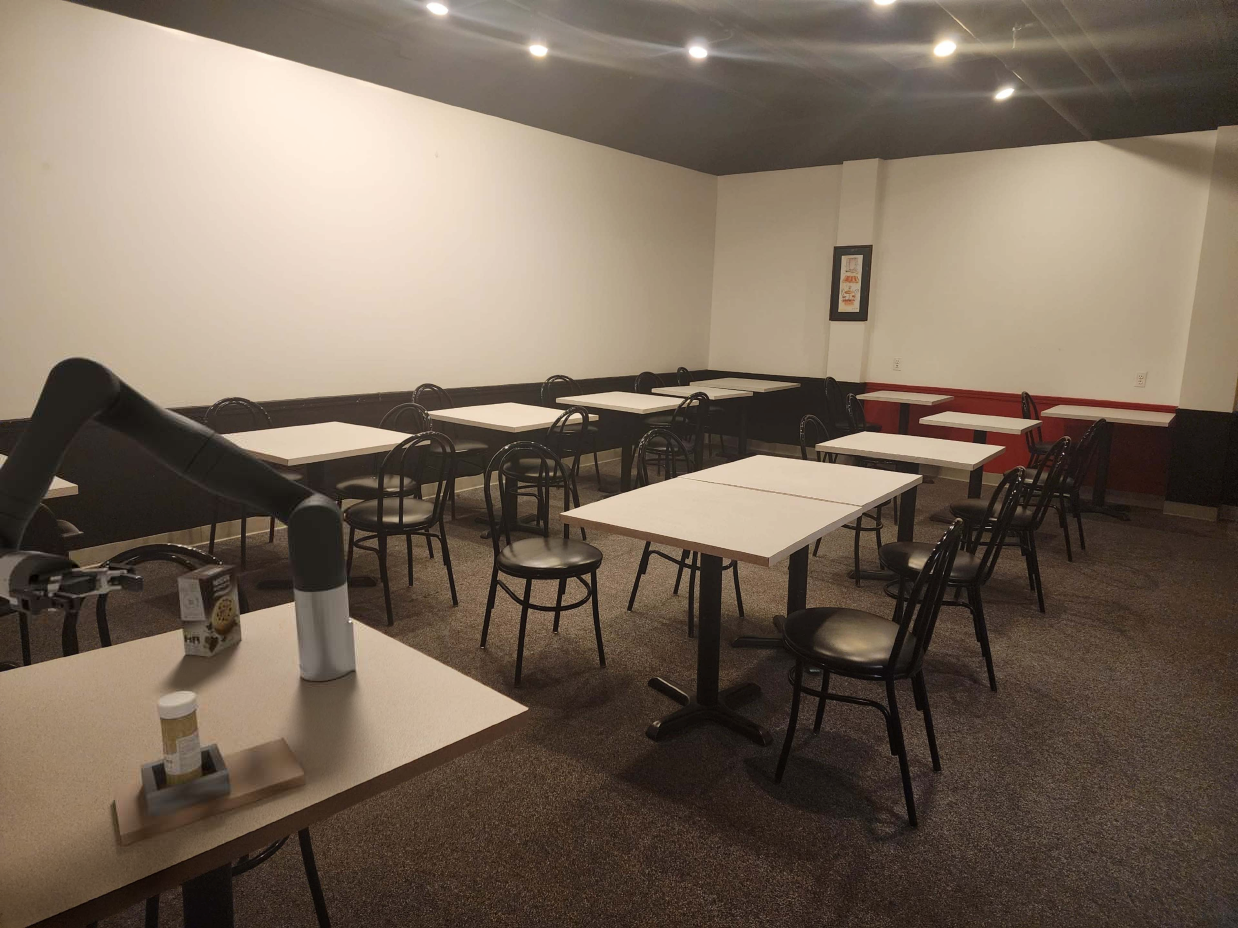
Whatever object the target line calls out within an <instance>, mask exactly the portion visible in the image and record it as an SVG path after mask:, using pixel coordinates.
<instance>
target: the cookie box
mask: <svg viewBox="0 0 1238 928" xmlns="http://www.w3.org/2000/svg"><path fill="white" fill-rule="evenodd" d="M237 582H238V581H237V571H236V565H233V564H232V565H231V564H229V565H228V564H210V563H209V564H207V565H205V566H202V567H200V568H198V569H196V570H193V571H190V572H188V573H185V574H183V575H181V576H178V577H177V583H178V595H179V606H180V617H181V626H182V638H183V646H184V647H183V648H184V654H185V655H191V656H192V655H193V656H202V657H206V658H207V657H213V656H215V655H217V654H218V653H220V652H222V651H224V650H225V649H228V648H229V647H231V646H233V645H234V644H236V643H238V642H240V641H241V640H243V637H242V628H241V627H242V625H241V615H240V605H239V594H238V593H239V592H238V583H237Z"/></svg>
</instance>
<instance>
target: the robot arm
mask: <svg viewBox="0 0 1238 928" xmlns="http://www.w3.org/2000/svg"><path fill="white" fill-rule="evenodd" d="M51 368H52V369H51V370H50V371H49V373H48V375H47V377H46V381H45V382H44V386H43V387H42V390H41V393H40V394H39V397H38V401H37V402H36V405H35V408H34V409H33V412H32V413H31V416H30V418H29V420H28V422H27V424H26V426H25V428H24V430H23V431H22V433H21V435H20V437H19V439H18V440H17V442H16V444H15V446H14V447H13V448H12V450H11V452H10V453H9V455H8V456H7V457H6V459H5V461H4V462H3V463H2V465H1V467H0V598H3V599H4V598H5V599H7V600H9V605H10V609H12V610H14V611H18V612H21V613H24V614H28V615H30V616H37V615H40V614H41V613H43V610H48V611H49V612H56V611H58V610H60V611H63V612H69V613H77V612H80V611H81V609H82V608H81V602H80V601H81V600H80V599H81V598H82V597H86V596H88V595H100V594H107V593H108V592H109V591H111V590H123V591H128V592H129V591H130V592H133V593H139V592H142V591H144V578H143V576H141V575H137V566H135V565H129V564H121V563H116V562H106V563H102V567H101V568H86V567H81V566H80V565H79V564H78V563H77V562H76V561H74V560H73V559H72V558H69V557H66V556H62V555H57V554H51V553H47V552H46V553H45V552H42V551H34V550H20V546H21V542H22V540H23V536H24V533H25V530H26V529H27V526H28V524H29V523H30V521H31V519H32V518H33V516H34V515H35V514H36V512H37V510H38V509H39V507H40V505H41V503H42V502H43V500H44V499H45V497H46V495H47V494H48V492H49V490H50V487H51V486H52V484H53V481H54V480H55V476H56V474H57V472H58V470H59V467H60V465H61V462H62V460H63V458H64V456H65V454H66V452H67V451H68V448H70V445H71V443H72V442H73V441H74V440H75V438H76V436H77V435H78V433H79V432H80V431H81V430H82V428H84V426H85V425H86V424H87V423H88V421H92V422H94V423H96V424H98V425H101V426H103V427H105V428H107V429H109V430H112V432H115V433H118V434H120V435H122V436H123V437H125V438H127V439H129V440H130V441H132V442H134V444H136V445H138V446H139V447H141V448H142V449H143V450H144V451H145V452H147V453H148V454H149V455H150V456H151V457H153V458H155V460H157V461H158V462H159V463H161V464H163V466H166V467H167V468H169V469H170V470H171V471H172V472H174V473H176V474H177V475H179V476H181V477H183V478H184V479H186V480H187V481H190V482H192V483H193V484H195V485H197V486H199V487H200V488H202V489H204V490H206V491H209V492H211V493H212V494H214V495H218V496H221V497H224V498H226V499H230V500H232V501H237V502H240V503H243V504H245V505H246V504H247V505H249V506H252V507H255V508H256V509H259V510H261V511H263V512H265V513H267V515H269V516H271V517H272V518H275V519H276V520H278V521H279V522H281V523H282V524H283V525H285V526H286V527H287V529H286V531H287V534H286V535H287V546H288V556H289V567H290V573H291V578H292V585H293V598H294V609H295V611H294V612H295V622H296V625H295V626H296V636H297V649H298V662H299V663H298V666H299V674H300V677H301V678H302V679H304V680H307V681H311V682H324V681H330V680H334V679H338V678H341V677H343V676H345V675H347V674H348V673H350V672H352V671H356V670H357V663H356V651H355V650H356V649H355V636H354V635H355V633H354V624H353V621H352V620H351V619H350V612H349V611H350V609H349V596H348V595H349V594H348V582H347V581H348V580H347V579H348V578H347V567H346V556H345V544H344V543H345V540H344V515H343V511H342V509H341V507H340V506H339V505H338V503H336V501H335V500H333V499H331V498H330V497H328V496H326V495H324V494H322V493H320V492H317V491H316V490H313V489H311V488H309V487H307V486H304V485H302V484H300V483H299V482H296V481H294V480H292V479H290V478H288V477H286V476H284V475H283V474H281V473H280V472H277V471H276V470H275V469H273V468H272V467H270V466H269V465H268V464H267V463H265V462H264V461H262V460H261V459H259V458H258V457H256V456H255V455H253V454H251V453H250V452H248V451H247V450H246V449H244V448H242V447H241V446H239V445H238V444H237V443H234V442H233V441H231V440H230V439H228V438H227V437H224V436H222V435H221V434H219V433H218V432H216V431H215V430H213V429H212V428H209V427H207V426H205V425H203V424H201V423H199V422H197V421H195V420H193V419H192V418H191V419H190V418H189V417H186V416H184V415H181V414H179V413H177V412H174V411H173V410H169V409H167V408H165V407H163V406H161V405H159V404H157V403H156V402H154V401H153V400H150V399H149V398H148V397H146V396H145V395H144V394H142V393H141V392H139V391H138V390H136V389H135V388H133V387H132V386H131V385H129V384H128V383H126V382H125V381H124V380H123V379H121V378H120V377H119V376H118V375H117V374H116V373H115V372H113V371H112V370H111V369H110V368H109V367H107V366H106V365H104V364H103V363H102V362H100V361H97V360H95V359H93V358H89V357H86V356H85V357H84V356H83V357H82V356H74V357H69V358H66V359H63V360H62V361H59V362H58V363H57V364H55V365H54V366H53V367H51ZM99 580H100V581H101V587H98V582H99ZM112 582H113V583H112ZM80 597H81V598H80Z"/></svg>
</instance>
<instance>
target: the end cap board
mask: <svg viewBox="0 0 1238 928" xmlns="http://www.w3.org/2000/svg"><path fill="white" fill-rule="evenodd" d="M200 750H201V767H202V777H201V778H197V779H194V780H191V781H188V782H184V783H181V784H178V785H175V786H172V787H168V788H167V779H166V771H165V765H164V758H160V759H157V760H154V761H150V762H147V763H144V764H141V765H140V767H139V768H140V774H141V780H139V781H136V782H132V783H129V784H126V785H122V786H120V787H116V788H114V789H113V794H114V795H113V796H114V802H115V809H116V815H117V822H118V829H119V835H120V842H121V847H124V846H126V845H129V844H132V843H136V842H138V841H142V840H144V839H147V838H150V837H153V836H156V835H159V834H161V833H166V832H168V831H171V830H175V829H176V828H179V827H182V826H185V825H188V824H191V823H193V822H197V821H200V820H202V819H203V820H204V819H206V818H209V817H212V816H215V815H218V814H221V813H224V812H226V811H229V810H232V809H234V808H235V809H236V808H238V807H241V806H243V805H246V804H250V803H252V802H256V801H258V800H262V799H264V798H268V797H270V796H274V795H276V794H279V793H282V792H285V791H288V790H291V789H294V788H297V787H299V786H300V787H301V786H302V785H306V783H307V782H306V774H305V772H304V770H303V768H302V766H301V765H300V763H299V762H298V760H297V758H296V756H295V754H294V753H293V752H292V749H291V748H290V746H289V744H288V742H287V741H286V739H285V738H284V737H281V738H279V739H276V740H272V741H268V742H265V743H262V744H259V745H256V746H251V747H248V748H244V749H241V750H239V751H235V752H232V753H229V754H225V755H222V753H221V751H220V749H219V746H218V743H217V742H216V743H212V744H208V745H204V746H200Z"/></svg>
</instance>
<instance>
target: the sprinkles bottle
mask: <svg viewBox="0 0 1238 928" xmlns="http://www.w3.org/2000/svg"><path fill="white" fill-rule="evenodd" d="M197 701H198V700H197V696H196V693H195V692H193V691H190V690H189V691H188V690H180V691H175V692H171V693H168V694H165V695H164V696H162V697H160V699H159V700H158V701H157V702H156V709H157V715H158V717H159V720H160V727H161V729H160V731H161V737H162V739H161V743H162V752H163V759H164V765H165V771H166V779H167V788H168V787H172V786H175V785H178V784H181V783H184V782H188V781H191V780H194V779H197V778H201V777H202V767H201V750H200V748H201V742H200V741H201V740H200V732H199V731H200V730H199V727H198V717H197V707H198V703H197Z"/></svg>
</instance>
